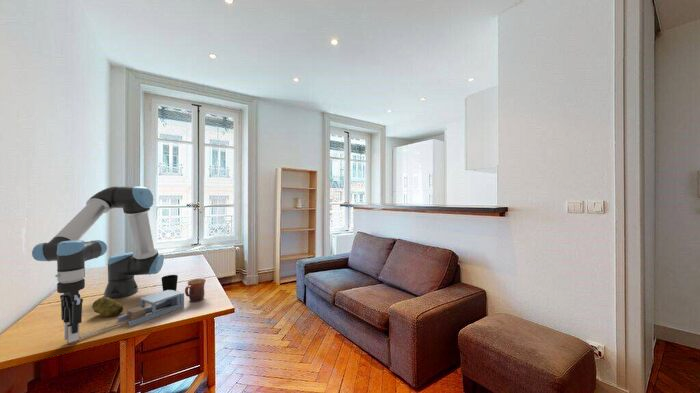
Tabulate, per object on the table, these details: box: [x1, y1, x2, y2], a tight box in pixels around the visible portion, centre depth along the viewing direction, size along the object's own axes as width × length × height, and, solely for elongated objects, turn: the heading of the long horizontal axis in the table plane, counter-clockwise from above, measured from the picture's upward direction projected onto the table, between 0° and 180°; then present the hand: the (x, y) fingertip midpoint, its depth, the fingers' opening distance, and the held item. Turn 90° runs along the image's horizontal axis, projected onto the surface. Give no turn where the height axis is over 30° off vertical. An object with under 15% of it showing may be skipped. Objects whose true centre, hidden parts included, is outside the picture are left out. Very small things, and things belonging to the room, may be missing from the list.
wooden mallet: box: [67, 306, 146, 346], centre depth 115 cm, size 5×25×7 cm, turn 151°
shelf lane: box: [117, 290, 185, 328], centre depth 131 cm, size 11×24×8 cm, turn 153°
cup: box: [161, 274, 179, 291], centre depth 150 cm, size 8×8×12 cm
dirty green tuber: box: [92, 296, 124, 317], centre depth 129 cm, size 8×13×8 cm, turn 69°
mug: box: [184, 278, 206, 302], centre depth 146 cm, size 12×9×10 cm
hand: (71, 339), depth 105 cm, fingers closed on wooden mallet, 3 cm apart
